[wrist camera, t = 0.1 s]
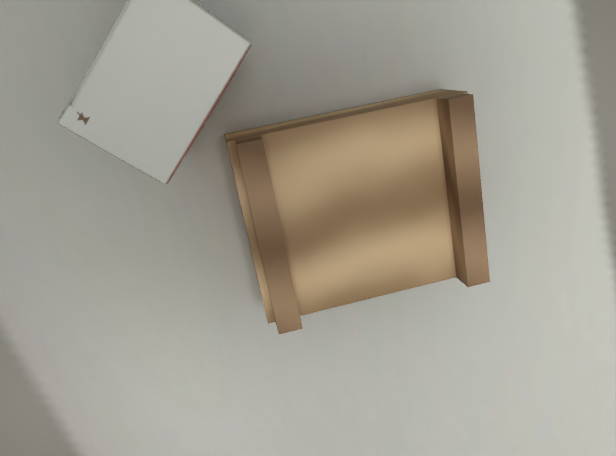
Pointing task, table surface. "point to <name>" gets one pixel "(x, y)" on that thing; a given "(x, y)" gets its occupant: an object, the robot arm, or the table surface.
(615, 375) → the table surface
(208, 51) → the small box
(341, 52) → the table surface
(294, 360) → the table surface
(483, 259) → the wooden tray
